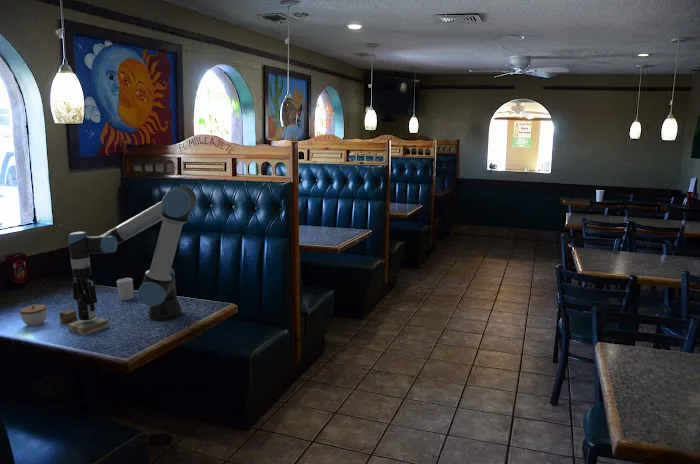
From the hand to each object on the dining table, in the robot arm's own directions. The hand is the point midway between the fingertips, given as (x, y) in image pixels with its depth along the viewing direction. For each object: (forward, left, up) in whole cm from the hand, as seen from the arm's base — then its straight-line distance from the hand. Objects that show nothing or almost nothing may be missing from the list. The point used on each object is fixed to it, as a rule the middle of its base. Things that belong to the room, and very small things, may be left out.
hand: (87, 316), depth 252 cm
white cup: (+23, -37, -6) cm, 44 cm away
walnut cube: (+17, -1, -6) cm, 18 cm away
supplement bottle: (0, 0, -1) cm, 1 cm away
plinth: (0, 0, -6) cm, 6 cm away
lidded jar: (+28, +9, -6) cm, 30 cm away
